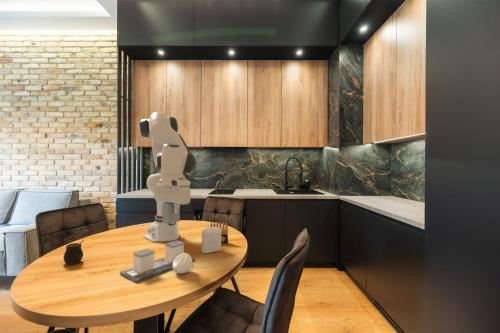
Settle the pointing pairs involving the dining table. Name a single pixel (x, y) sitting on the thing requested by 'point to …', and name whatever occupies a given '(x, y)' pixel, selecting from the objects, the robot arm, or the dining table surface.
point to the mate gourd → (73, 253)
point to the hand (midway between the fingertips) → (171, 212)
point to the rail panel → (159, 268)
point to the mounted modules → (146, 257)
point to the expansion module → (169, 213)
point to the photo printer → (211, 239)
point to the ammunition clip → (222, 232)
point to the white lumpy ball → (182, 263)
